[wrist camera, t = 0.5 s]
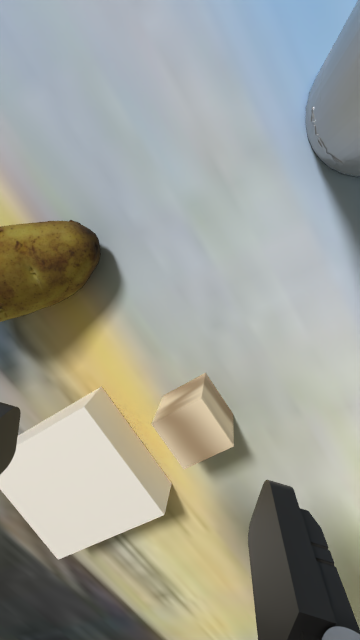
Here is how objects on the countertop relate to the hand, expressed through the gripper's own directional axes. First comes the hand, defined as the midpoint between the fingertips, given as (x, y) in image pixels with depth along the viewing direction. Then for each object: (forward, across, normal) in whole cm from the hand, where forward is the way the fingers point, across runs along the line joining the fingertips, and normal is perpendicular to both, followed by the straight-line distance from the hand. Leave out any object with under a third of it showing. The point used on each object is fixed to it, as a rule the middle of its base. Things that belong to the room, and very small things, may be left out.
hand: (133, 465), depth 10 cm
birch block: (+20, -3, +8) cm, 21 cm away
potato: (+20, +15, -2) cm, 25 cm away
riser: (+20, +7, +18) cm, 28 cm away
